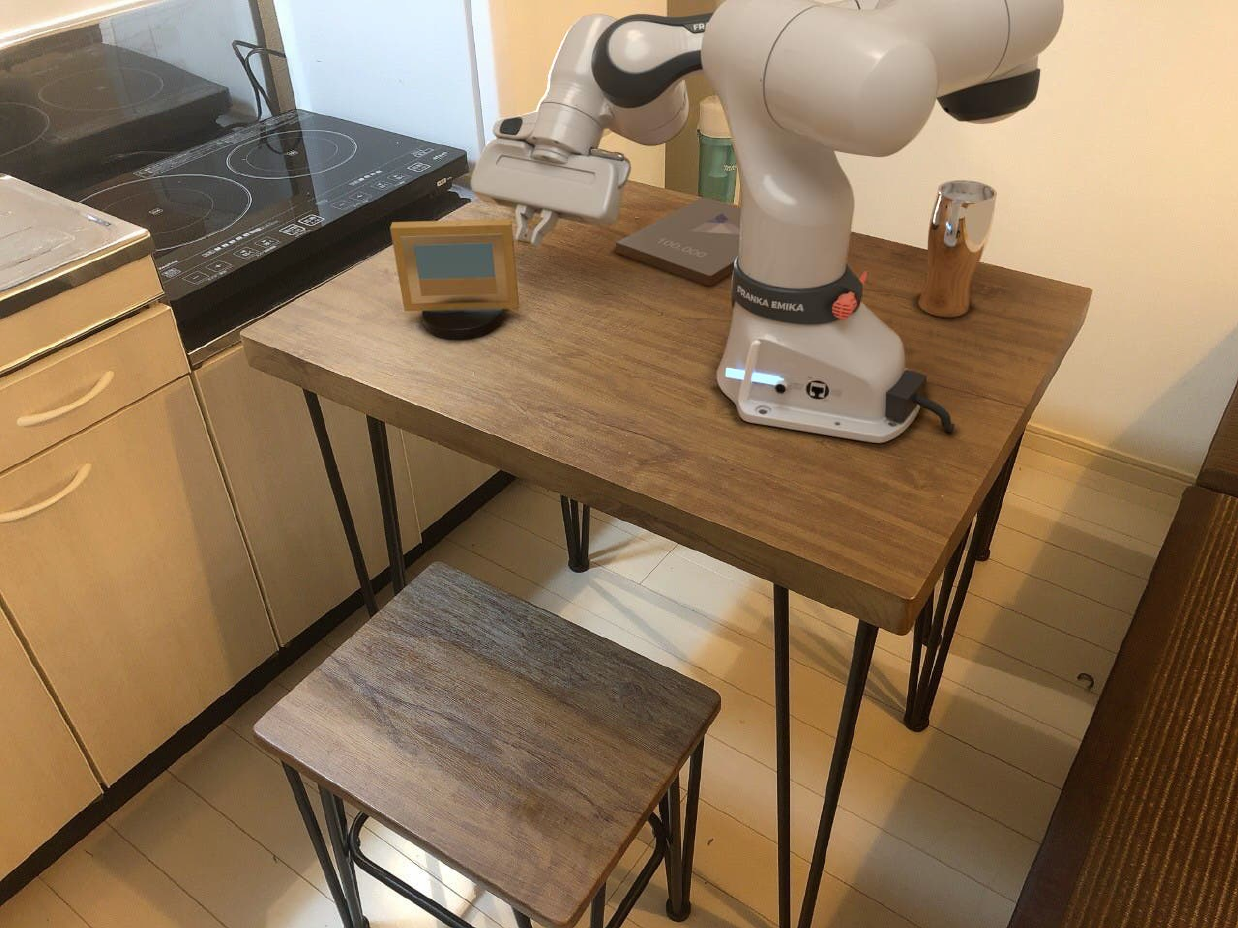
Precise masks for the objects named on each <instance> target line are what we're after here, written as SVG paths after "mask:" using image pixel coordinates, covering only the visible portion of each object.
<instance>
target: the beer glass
mask: <svg viewBox="0 0 1238 928" xmlns="http://www.w3.org/2000/svg"><path fill="white" fill-rule="evenodd" d="M997 196H998V192H997V190H996V189H995V188H994V187H992V186H990V185H988V184H986V183H983V182H979V181H975V180H965V179H958V180H957V179H956V180H950V181H946V182H943V183H941V184H940V185H939V186H938V188H937V192H936V196H935V199H934V203H933V207H932V210H931V214H930V219H929V226H928V231H927V232H928V233H927V272H926V279H925V283H924V286H923V288H922V291H921V294H920V296H919V298H918V301H917V302H918V303H917V304H918V307H919V308H920V309H921V310H922V311H923V312H925V313H927V314H929V315H931V316H932V315H933V316H934V317H939V318H957V317H962V316H963V315H965V314H966V313H967V312H968V311H969V309H970V290H971V284H972V281H973V278H974V275H975V272H976V270H977V268H978V266H979V263H980V261H981V259H982V257H983V254H984V251H985V249H986V246H987V244H988V242H989V238H990V235H991V231H992V226H993V221H994V215H995V208H996V201H997Z"/></svg>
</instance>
